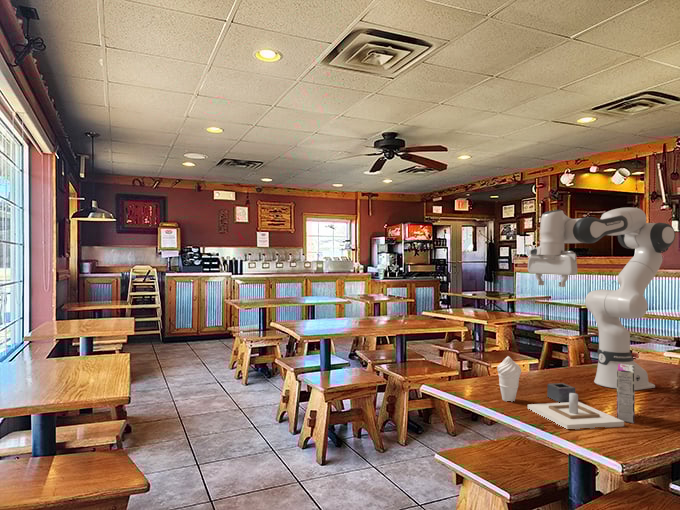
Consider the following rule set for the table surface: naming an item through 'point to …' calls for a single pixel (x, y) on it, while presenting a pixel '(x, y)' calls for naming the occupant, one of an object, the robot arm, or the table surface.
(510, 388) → the soft serve ice cream cone
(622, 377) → the candy bar box
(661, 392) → the table surface
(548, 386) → the grey square tube
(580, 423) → the post board
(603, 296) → the robot arm
